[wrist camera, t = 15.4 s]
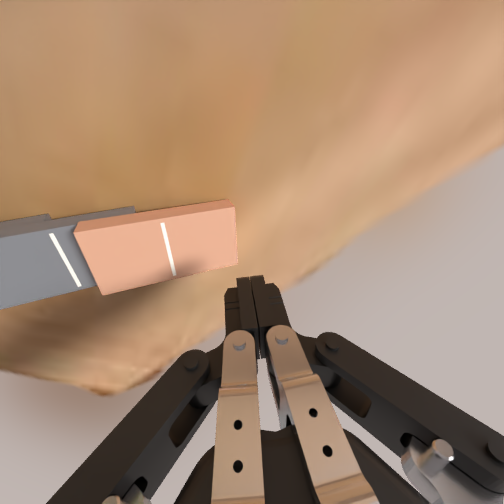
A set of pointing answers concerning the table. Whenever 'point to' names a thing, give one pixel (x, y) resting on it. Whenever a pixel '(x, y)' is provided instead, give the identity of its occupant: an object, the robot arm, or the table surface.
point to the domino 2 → (158, 244)
